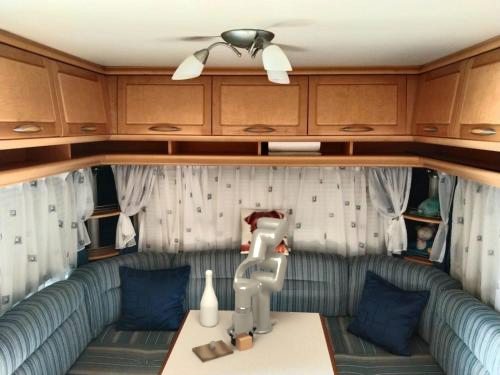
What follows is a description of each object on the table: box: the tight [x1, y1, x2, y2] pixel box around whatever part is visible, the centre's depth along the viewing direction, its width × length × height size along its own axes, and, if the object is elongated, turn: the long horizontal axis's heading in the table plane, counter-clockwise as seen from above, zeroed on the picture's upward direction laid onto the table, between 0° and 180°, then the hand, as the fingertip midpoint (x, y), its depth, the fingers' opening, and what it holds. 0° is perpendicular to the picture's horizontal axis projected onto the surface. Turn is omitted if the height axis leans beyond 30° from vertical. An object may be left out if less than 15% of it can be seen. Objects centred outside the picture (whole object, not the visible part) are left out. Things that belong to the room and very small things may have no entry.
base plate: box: [191, 339, 235, 363], centre depth 213 cm, size 16×12×5 cm
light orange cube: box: [234, 332, 253, 352], centre depth 218 cm, size 6×6×6 cm
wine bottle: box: [199, 269, 219, 328], centre depth 241 cm, size 10×10×30 cm
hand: (242, 342), depth 218 cm, fingers open, 9 cm apart
